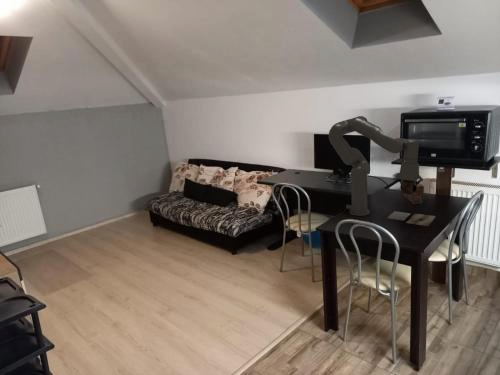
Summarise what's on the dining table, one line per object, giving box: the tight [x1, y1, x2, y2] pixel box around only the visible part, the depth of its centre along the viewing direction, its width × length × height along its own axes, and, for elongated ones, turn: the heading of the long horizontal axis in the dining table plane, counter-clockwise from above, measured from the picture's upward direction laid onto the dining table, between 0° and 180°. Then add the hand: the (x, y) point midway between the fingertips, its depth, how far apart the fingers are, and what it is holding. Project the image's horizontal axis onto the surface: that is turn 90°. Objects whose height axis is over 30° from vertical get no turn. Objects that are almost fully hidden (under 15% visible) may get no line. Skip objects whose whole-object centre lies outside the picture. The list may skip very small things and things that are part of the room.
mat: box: [386, 210, 411, 221], centre depth 234 cm, size 10×14×1 cm
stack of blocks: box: [401, 182, 425, 205], centre depth 261 cm, size 21×6×12 cm, turn 179°
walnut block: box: [400, 180, 414, 194], centre depth 225 cm, size 6×6×7 cm
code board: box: [405, 213, 436, 227], centre depth 225 cm, size 12×18×1 cm, turn 142°
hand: (408, 190), depth 226 cm, fingers closed on walnut block, 6 cm apart
